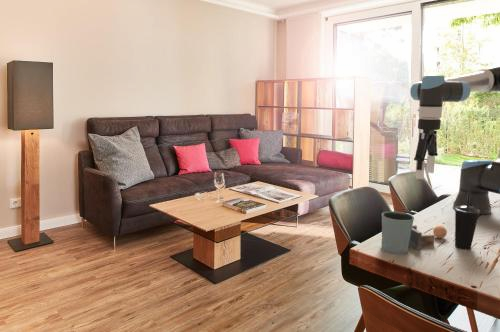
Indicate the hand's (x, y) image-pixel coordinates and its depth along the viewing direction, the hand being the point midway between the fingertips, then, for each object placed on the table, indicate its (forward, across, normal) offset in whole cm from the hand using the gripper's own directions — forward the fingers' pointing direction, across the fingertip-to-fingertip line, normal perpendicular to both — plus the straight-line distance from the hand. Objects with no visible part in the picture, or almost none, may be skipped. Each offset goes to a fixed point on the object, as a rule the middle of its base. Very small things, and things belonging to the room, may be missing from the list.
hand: (424, 175), depth 149 cm
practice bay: (+22, +12, +2) cm, 25 cm away
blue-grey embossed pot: (+22, +24, -1) cm, 32 cm away
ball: (+20, +3, +8) cm, 21 cm away
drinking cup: (+22, +7, +16) cm, 28 cm away
